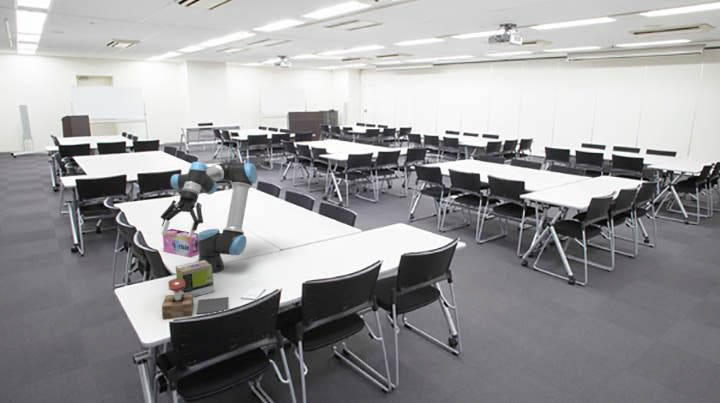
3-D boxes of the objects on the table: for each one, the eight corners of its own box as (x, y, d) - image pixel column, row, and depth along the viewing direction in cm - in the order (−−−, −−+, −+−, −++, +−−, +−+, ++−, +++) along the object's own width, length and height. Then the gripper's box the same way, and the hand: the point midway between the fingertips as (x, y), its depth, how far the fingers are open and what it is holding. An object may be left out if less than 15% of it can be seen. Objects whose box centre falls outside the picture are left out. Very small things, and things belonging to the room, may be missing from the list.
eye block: (166, 307, 200) (165, 295, 199) (193, 304, 203) (193, 292, 202) (162, 319, 189) (161, 306, 187) (191, 316, 192) (190, 304, 191)
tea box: (206, 285, 225) (205, 259, 222) (214, 291, 218) (212, 264, 214) (177, 292, 215) (175, 265, 212) (184, 299, 208) (182, 271, 205)
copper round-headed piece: (171, 309, 198) (169, 279, 195) (187, 307, 200) (185, 277, 197) (169, 316, 192) (167, 285, 189) (186, 314, 194) (184, 283, 191)
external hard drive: (265, 291, 222) (255, 301, 210) (250, 289, 223) (240, 300, 211) (265, 288, 221) (255, 298, 209) (250, 286, 223) (240, 296, 211)
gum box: (201, 254, 270) (200, 233, 267) (192, 258, 263) (190, 237, 260) (173, 248, 279) (171, 228, 276) (163, 251, 272) (161, 231, 269)
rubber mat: (198, 301, 207) (198, 299, 207) (228, 298, 211) (228, 296, 211) (196, 314, 194) (196, 313, 194) (228, 311, 198) (228, 309, 198)
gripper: (162, 187, 198) (147, 230, 190) (211, 191, 193) (197, 235, 185) (171, 194, 205) (156, 235, 197) (218, 198, 200) (205, 240, 192)
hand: (176, 235), depth 191 cm, fingers open, 13 cm apart
